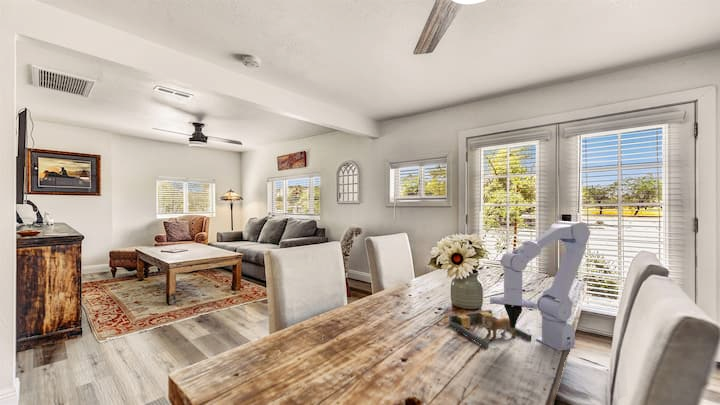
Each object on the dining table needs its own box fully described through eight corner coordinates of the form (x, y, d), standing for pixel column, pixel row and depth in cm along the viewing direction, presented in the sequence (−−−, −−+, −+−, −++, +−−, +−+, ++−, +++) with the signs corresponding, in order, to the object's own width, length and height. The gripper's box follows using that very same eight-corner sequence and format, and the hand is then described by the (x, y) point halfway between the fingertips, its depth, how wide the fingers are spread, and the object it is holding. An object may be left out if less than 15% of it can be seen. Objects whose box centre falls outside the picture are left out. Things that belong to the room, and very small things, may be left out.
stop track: (531, 340, 110) (531, 329, 110) (485, 348, 104) (485, 336, 104) (489, 319, 130) (489, 309, 130) (448, 325, 123) (448, 315, 123)
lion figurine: (488, 342, 108) (488, 317, 108) (478, 336, 113) (478, 312, 113) (520, 337, 113) (520, 312, 113) (509, 331, 118) (509, 308, 118)
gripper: (534, 286, 107) (534, 325, 107) (489, 282, 112) (489, 319, 112) (538, 292, 100) (538, 333, 100) (490, 287, 105) (490, 326, 105)
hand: (512, 326), depth 105 cm, fingers closed
